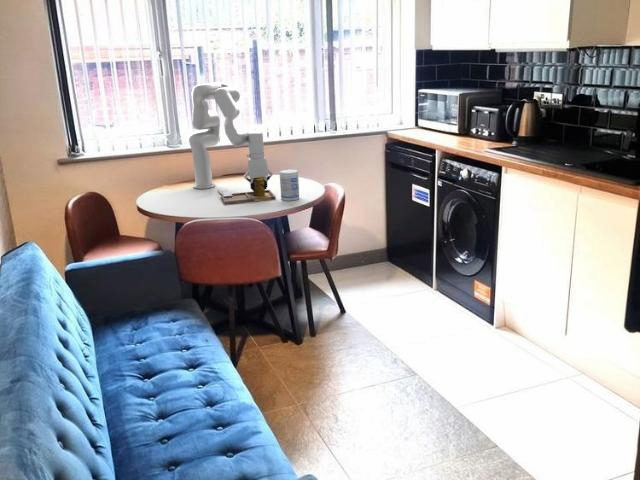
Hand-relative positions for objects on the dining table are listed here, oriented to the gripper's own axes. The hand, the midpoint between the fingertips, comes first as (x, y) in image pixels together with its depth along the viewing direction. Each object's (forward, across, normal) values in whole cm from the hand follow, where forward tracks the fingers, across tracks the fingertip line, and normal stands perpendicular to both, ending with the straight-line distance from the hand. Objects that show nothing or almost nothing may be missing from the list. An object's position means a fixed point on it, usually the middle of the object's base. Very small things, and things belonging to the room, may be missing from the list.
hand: (259, 189), depth 312 cm
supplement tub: (+4, +14, -11) cm, 18 cm away
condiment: (+4, -1, 0) cm, 4 cm away
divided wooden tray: (+4, -6, 0) cm, 8 cm away
